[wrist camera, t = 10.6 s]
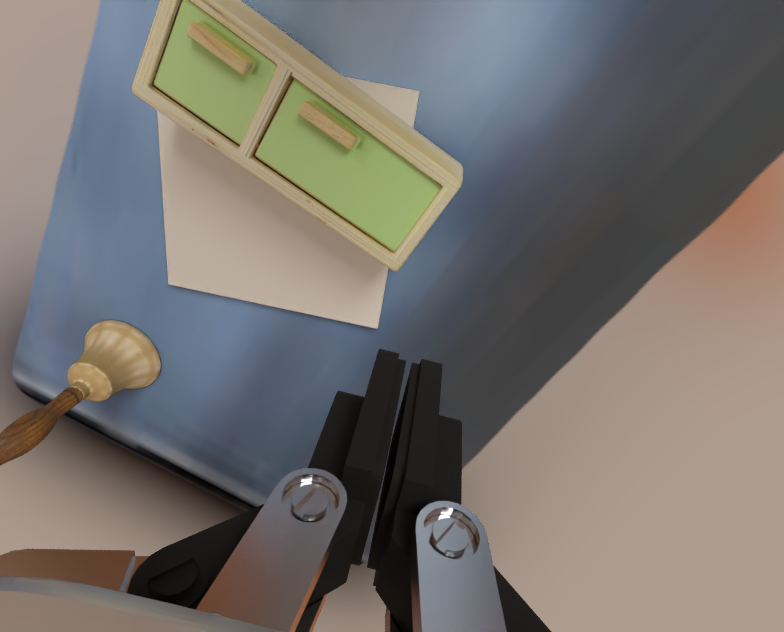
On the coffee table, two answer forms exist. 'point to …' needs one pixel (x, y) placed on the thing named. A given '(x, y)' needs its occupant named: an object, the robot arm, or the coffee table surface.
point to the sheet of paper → (264, 231)
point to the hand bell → (89, 382)
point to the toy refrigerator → (295, 125)
